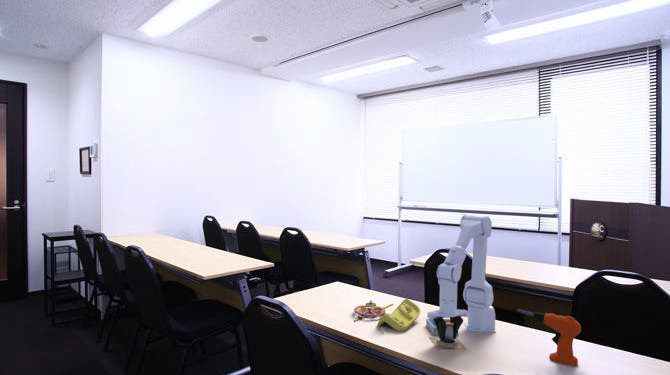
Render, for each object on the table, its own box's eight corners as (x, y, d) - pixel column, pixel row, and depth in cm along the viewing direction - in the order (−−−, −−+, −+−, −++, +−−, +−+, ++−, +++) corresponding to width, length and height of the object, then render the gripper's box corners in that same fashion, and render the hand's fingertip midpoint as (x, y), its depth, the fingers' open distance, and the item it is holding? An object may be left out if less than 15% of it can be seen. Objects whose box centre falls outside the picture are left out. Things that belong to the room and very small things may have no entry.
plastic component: (404, 328, 138) (382, 311, 142) (396, 343, 140) (375, 326, 145) (424, 310, 154) (403, 296, 159) (417, 324, 156) (397, 309, 161)
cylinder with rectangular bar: (451, 340, 131) (451, 320, 131) (455, 345, 127) (455, 324, 127) (439, 340, 131) (440, 320, 131) (443, 345, 127) (443, 324, 127)
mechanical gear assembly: (339, 318, 154) (370, 328, 145) (340, 308, 154) (371, 317, 145) (378, 302, 178) (407, 310, 168) (379, 293, 178) (407, 300, 168)
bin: (449, 326, 146) (449, 318, 146) (458, 336, 137) (458, 327, 137) (426, 326, 146) (426, 318, 146) (433, 335, 136) (433, 327, 136)
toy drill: (513, 342, 128) (519, 299, 127) (577, 365, 118) (585, 318, 117) (510, 346, 125) (517, 303, 124) (576, 370, 114) (585, 323, 113)
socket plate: (456, 338, 134) (456, 334, 134) (467, 350, 124) (467, 346, 124) (428, 338, 134) (428, 334, 134) (437, 350, 124) (437, 346, 124)
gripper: (460, 294, 135) (459, 332, 135) (423, 296, 131) (422, 335, 131) (472, 300, 128) (471, 340, 128) (433, 302, 124) (432, 343, 124)
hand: (447, 338), depth 129 cm, fingers closed on cylinder with rectangular bar, 4 cm apart
